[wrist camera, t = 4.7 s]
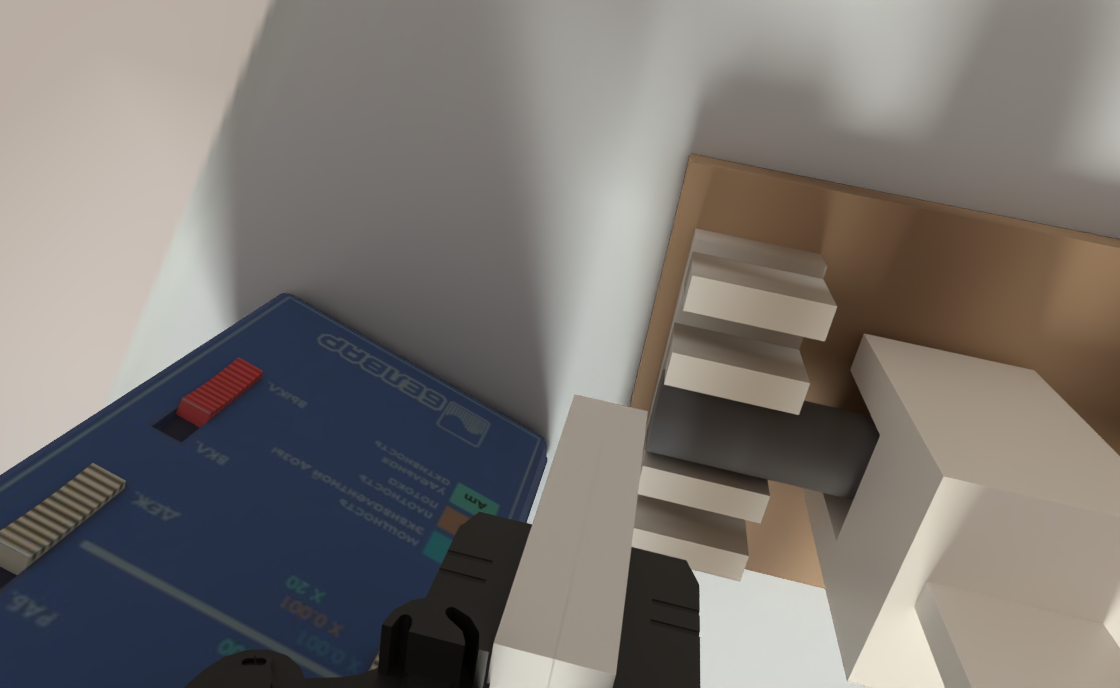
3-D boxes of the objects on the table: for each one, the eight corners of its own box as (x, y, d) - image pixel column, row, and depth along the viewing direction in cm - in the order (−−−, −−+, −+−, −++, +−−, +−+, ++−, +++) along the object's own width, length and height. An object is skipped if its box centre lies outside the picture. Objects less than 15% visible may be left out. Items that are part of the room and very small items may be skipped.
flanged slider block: (803, 494, 20) (884, 838, 11) (864, 333, 18) (1016, 607, 9) (954, 530, 19) (1154, 912, 11) (1034, 370, 17) (1350, 688, 9)
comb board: (604, 509, 23) (569, 703, 16) (690, 153, 18) (688, 223, 12) (1359, 692, 21) (1661, 994, 14) (1666, 349, 16) (2316, 563, 10)
